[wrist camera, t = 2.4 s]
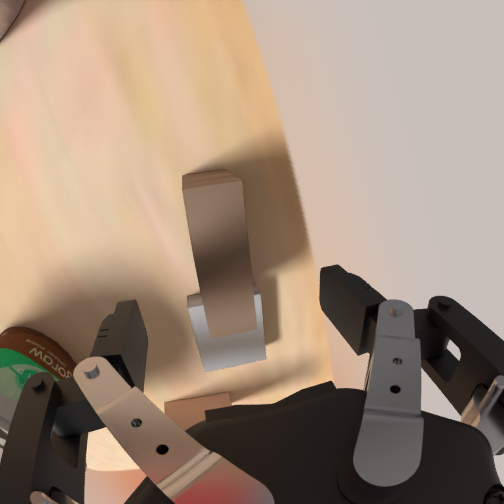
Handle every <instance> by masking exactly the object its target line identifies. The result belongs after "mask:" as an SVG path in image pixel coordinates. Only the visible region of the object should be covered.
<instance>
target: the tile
mask: <svg viewBox="0 0 504 504" xmlns="http://www.w3.org/2000/svg"><path fill="white" fill-rule="evenodd" d="M228 406H232V404H231V400H230V396H229V392H225V393H220V394H215V395H209V396H204V397H198V398H191V399H185V400H178V401H170V402H164V407H165V415H166V416H168V417H169V418H170V419H171V420H172V421H173V422H174V423H175V424H177V425H178V426H179V427H180V428H181V429H182V430H184V431H185V430H187V429H188V428H190V427H191V426H193V425H195V424H197V423H199V422H201V421H203V420H206V418H205V411H204V410H210V409H216V408H222V407H228Z"/></svg>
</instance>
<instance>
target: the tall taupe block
mask: <svg viewBox="0 0 504 504" xmlns="http://www.w3.org/2000/svg"><path fill="white" fill-rule="evenodd" d="M182 191H183V198H184V204H185V210H186V216H187V222H188V228H189V234H190V240H191V245H192V251H193V256H194V262H195V267H196V272H197V277H198V282H199V287H200V292H201V294H197V295H191V296H187V305H188V311H189V315H190V319H191V323H192V327H193V331H194V335H195V338H196V342H197V346H198V349H199V353H200V357H201V360H202V364H203V367H204V371H205V372H208V371H213V370H218V369H223V368H228V367H233V366H238V365H243V364H247V363H252V362H256V361H261V360H265V359H266V349H265V338H264V326H263V315H262V304H261V294H260V292H259V290H258V288H257V286H256V284H253V282H252V272H251V263H250V253H249V244H248V234H247V224H246V214H245V205H244V195H243V185H242V180H240V179H239V178H238V177H236V176H235V175H233V174H232V173H230V172H229V171H227V170H226V169H223V170H216V171H209V172H203V173H196V174H190V175H184V176H182Z"/></svg>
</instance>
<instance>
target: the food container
mask: <svg viewBox="0 0 504 504" xmlns="http://www.w3.org/2000/svg"><path fill="white" fill-rule="evenodd" d="M76 366H77V365H76V363H75V362H74V361H73V359H72V358H71V356H70V355H69V354H68V353H67V352H66V351H65V350H64V349H63V348H62V347H61V346H60V345H59V344H57V343H56V342H55V341H53V340H52V339H51V338H49V337H47V336H46V335H44V334H42V333H40V332H38V331H35V330H32V329H29V328H24V327H12V328H8V329H6V330H5V331H3V332H2V333H1V334H0V447H1V448H2V449H4V446H5V442H6V438H7V435H8V431H9V428H10V424H11V421H12V418H13V415H14V412H15V409H16V406H17V403H18V400H19V397H20V395H21V392H22V389H23V387H24V384H25V382H26V381H27V380H28V379H29V378H30V377H31V376H32V375H34V374H36V373H39V372H48V373H50V374H51V375H52V376H53V377H54V379H55V381H59V380H62V379H66V378H69V377H72V376H73V372H74V369H75V368H76ZM52 431H53V429H52ZM51 436H52V434H51ZM86 467H87V464H86V463H85V471H86Z"/></svg>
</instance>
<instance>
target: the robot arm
mask: <svg viewBox="0 0 504 504" xmlns="http://www.w3.org/2000/svg"><path fill="white" fill-rule="evenodd" d="M23 3H24V0H0V39H1V38H2V36H3V35H4V34H5V32H6V31H7V30H8V28H9V27H10V26H11V24H12V22H13V21H14V19H15V18H16V16H17V15H18V13H19V11H20V9H21V7H22V5H23ZM319 300H320V305H321V308H322V311H323V312H324V313H325V315H326V316H327V317H328V318H329V320H330V321H331V322H332V323H333V325H334V326H335V327H336V329H337V330H338V331H339V332H340V334H341V335H342V336H343V337H344V339H345V340H346V341H347V342H348V344H349V345H350V346H351V348H352V349H353V350H354V351H355V353H356V354H357V355H362V354H364V353H367V352H368V353H369V354H370V357H369V361H368V367H367V372H366V378H365V383H364V387H363V390H359V389H351V388H338V389H336V387H335V386H334V384H333V382H332V381H329V382H325V383H322V384H319V385H316V386H312V387H309V388H305V389H302V390H300V391H298V392H296V393H294V394H292V395H290V396H288V397H286V398H284V399H282V400H280V401H278V402H276V403H273V404H261V405H233V406H228V407H222V408H216V409H210V410H204V411H205V418H206V420H203V421H201V422H199V423H197V424H195V425H193V426H191V427H190V428H188V429H187V430H185V431H184V430H182V429H181V428H180V427H179V426H178V425H177V424H175V423H174V422H173V421H172V420H171V419H170V418H169V417H168V416H166V415H165V414H164V413H163V412H162V411H161V410H160V409H159V408H158V407H157V406H156V405H155V404H154V403H152V402H151V401H150V400H149V399H148V398H147V397H146V396H145V395H144V394H143V391H144V378H145V367H146V357H147V348H148V337H147V332H146V328H145V325H144V322H143V319H142V316H141V313H140V310H139V307H138V304H137V301H136V300H135V299H134V300H127V301H120V302H118V304H117V306H116V309H115V312H114V314H110V315H108V316H107V317H106V318H105V319H104V321H103V322H102V324H101V326H100V329H99V332H98V335H97V338H96V340H95V343H94V346H93V349H92V352H91V355H90V358H87V359H85V360H83V361H81V362H80V363H79V364H78V365H77V366H76V368H75V369H74V372H73V376H72V377H69V378H66V379H62V380H59V381H55V379H54V377H53V376H52V375H51V374H50V373H48V372H39V373H36V374H34V375H32V376H31V377H30V378H29V379H28V380H27V381H26V382H25V384H24V387H23V389H22V392H21V395H20V397H19V400H18V403H17V406H16V409H15V412H14V415H13V418H12V421H11V424H10V428H9V431H8V435H7V438H6V442H5V446H4V449H3V454H2V458H1V462H0V504H84V485H85V463H86V450H87V439H88V432H91V431H95V430H98V429H101V428H105V427H107V428H108V430H109V431H110V432H111V434H112V435H113V436H114V438H115V439H116V440H117V441H118V443H119V444H120V445H121V446H122V448H123V449H124V450H125V451H126V452H127V454H128V455H129V456H130V457H131V458H132V460H133V461H134V462H135V463H136V464H137V465H138V466H139V468H140V469H141V470H142V471H143V472H144V473H145V474H146V475H147V476H146V478H145V479H144V480H143V481H142V483H141V484H140V485H139V486H138V487H137V489H136V490H135V491H134V492H133V493H132V495H131V496H130V497H129V498H128V499H127V501H126V502H125V503H124V504H504V487H503V485H502V484H501V482H500V480H499V477H498V475H497V472H496V468H495V464H494V458H493V456H494V455H501V454H504V341H503V340H502V339H501V338H500V337H499V336H497V335H496V334H495V333H494V332H493V331H492V330H490V329H489V328H488V327H487V326H486V325H484V324H483V323H482V322H481V321H480V320H478V319H477V318H476V317H475V316H474V315H472V314H471V313H470V312H469V311H467V310H466V309H465V308H464V307H463V306H461V305H460V304H459V303H457V302H456V301H455V300H453V299H451V298H449V297H446V296H435V297H432V298H431V299H430V300H429V304H428V308H427V309H416V310H413V308H412V307H411V306H410V305H409V304H408V303H406V302H404V301H401V300H387V299H386V298H384V297H383V296H382V295H381V294H380V293H379V292H377V291H376V290H375V289H374V288H372V287H371V286H370V285H369V284H368V283H366V281H364V280H363V279H362V278H361V277H359V276H357V275H354V274H352V273H348V272H347V271H345V270H344V269H343V268H342V267H341V266H339V265H332V266H327V267H323V268H321V271H320V296H319ZM449 340H452V342H453V343H454V344H455V345H456V346H457V347H458V348H459V349H460V353H461V358H460V361H459V360H458V359H457V358H456V357H454V355H453V354H452V353H451V352H450V351H449V350H448V349H447V345H448V342H449ZM421 367H422V369H423V370H424V371H425V372H426V373H427V374H428V376H429V377H430V378H431V379H432V381H433V382H434V383H435V384H436V385H437V387H438V388H439V389H440V390H441V392H442V393H443V394H444V395H445V397H446V398H447V399H448V400H449V401H450V403H451V404H452V405H453V407H454V408H455V409H456V410H457V412H458V413H459V414H460V415H461V422H459V421H455V420H452V419H448V418H445V417H441V416H438V415H434V414H431V413H428V412H425V411H422V410H421ZM52 429H53V431H52ZM51 434H52V436H51Z"/></svg>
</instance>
